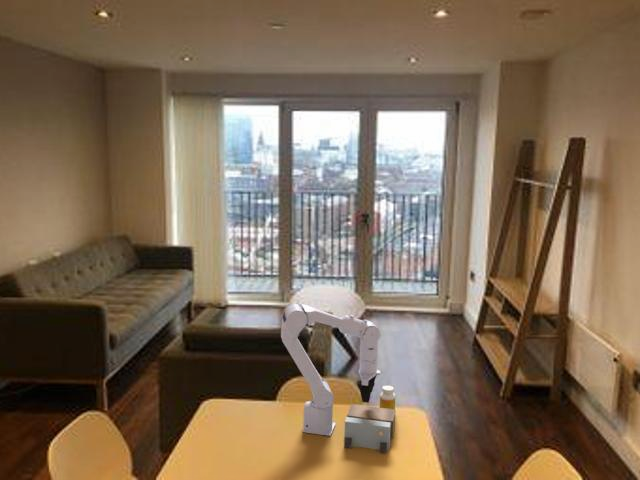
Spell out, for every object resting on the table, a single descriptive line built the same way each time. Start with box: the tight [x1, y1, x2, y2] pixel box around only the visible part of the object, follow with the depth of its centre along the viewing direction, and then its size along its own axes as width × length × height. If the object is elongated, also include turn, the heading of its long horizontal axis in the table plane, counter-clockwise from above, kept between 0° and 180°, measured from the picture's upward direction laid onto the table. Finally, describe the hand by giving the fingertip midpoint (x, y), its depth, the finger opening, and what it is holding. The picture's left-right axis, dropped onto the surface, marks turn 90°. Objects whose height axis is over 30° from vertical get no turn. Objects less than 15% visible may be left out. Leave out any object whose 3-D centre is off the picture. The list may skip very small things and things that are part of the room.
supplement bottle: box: [379, 385, 396, 410], centre depth 193 cm, size 5×5×10 cm
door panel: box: [343, 416, 391, 452], centre depth 172 cm, size 14×4×8 cm, turn 77°
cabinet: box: [344, 403, 397, 455], centre depth 178 cm, size 15×17×6 cm
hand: (367, 396), depth 183 cm, fingers open, 7 cm apart
